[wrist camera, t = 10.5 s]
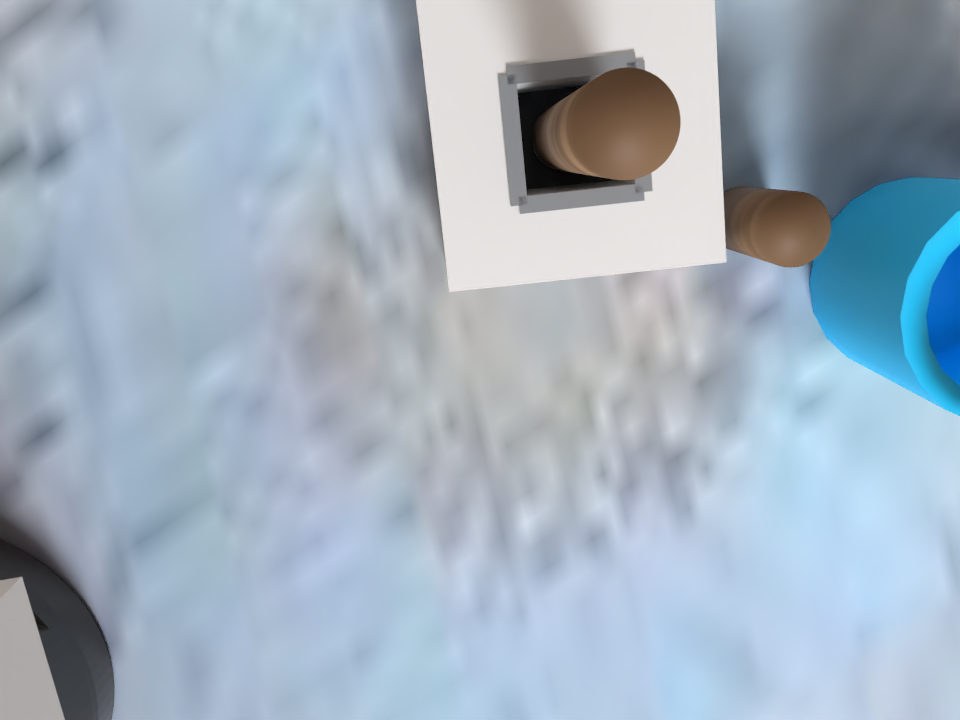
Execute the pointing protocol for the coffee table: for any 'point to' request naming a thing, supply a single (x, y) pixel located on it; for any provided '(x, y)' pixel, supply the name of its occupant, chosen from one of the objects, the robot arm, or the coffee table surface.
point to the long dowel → (610, 127)
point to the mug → (896, 285)
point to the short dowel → (775, 225)
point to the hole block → (581, 207)
